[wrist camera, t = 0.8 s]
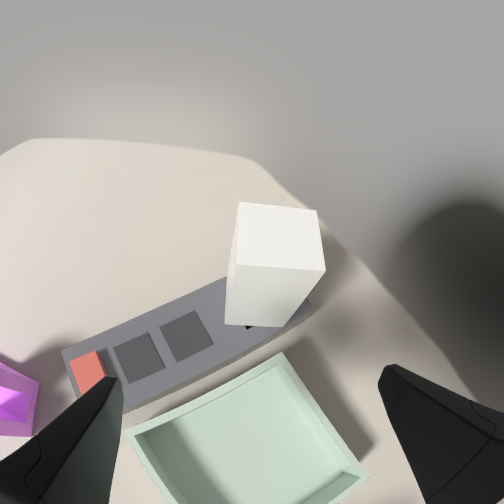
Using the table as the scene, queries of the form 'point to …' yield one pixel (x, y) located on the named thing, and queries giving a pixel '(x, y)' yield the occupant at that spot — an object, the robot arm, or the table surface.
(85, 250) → the table surface
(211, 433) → the tray
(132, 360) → the power strip
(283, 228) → the white long block
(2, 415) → the bracket
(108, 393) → the robot arm
